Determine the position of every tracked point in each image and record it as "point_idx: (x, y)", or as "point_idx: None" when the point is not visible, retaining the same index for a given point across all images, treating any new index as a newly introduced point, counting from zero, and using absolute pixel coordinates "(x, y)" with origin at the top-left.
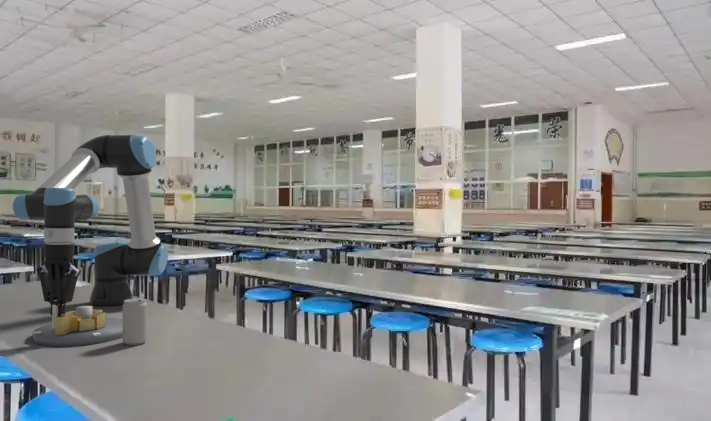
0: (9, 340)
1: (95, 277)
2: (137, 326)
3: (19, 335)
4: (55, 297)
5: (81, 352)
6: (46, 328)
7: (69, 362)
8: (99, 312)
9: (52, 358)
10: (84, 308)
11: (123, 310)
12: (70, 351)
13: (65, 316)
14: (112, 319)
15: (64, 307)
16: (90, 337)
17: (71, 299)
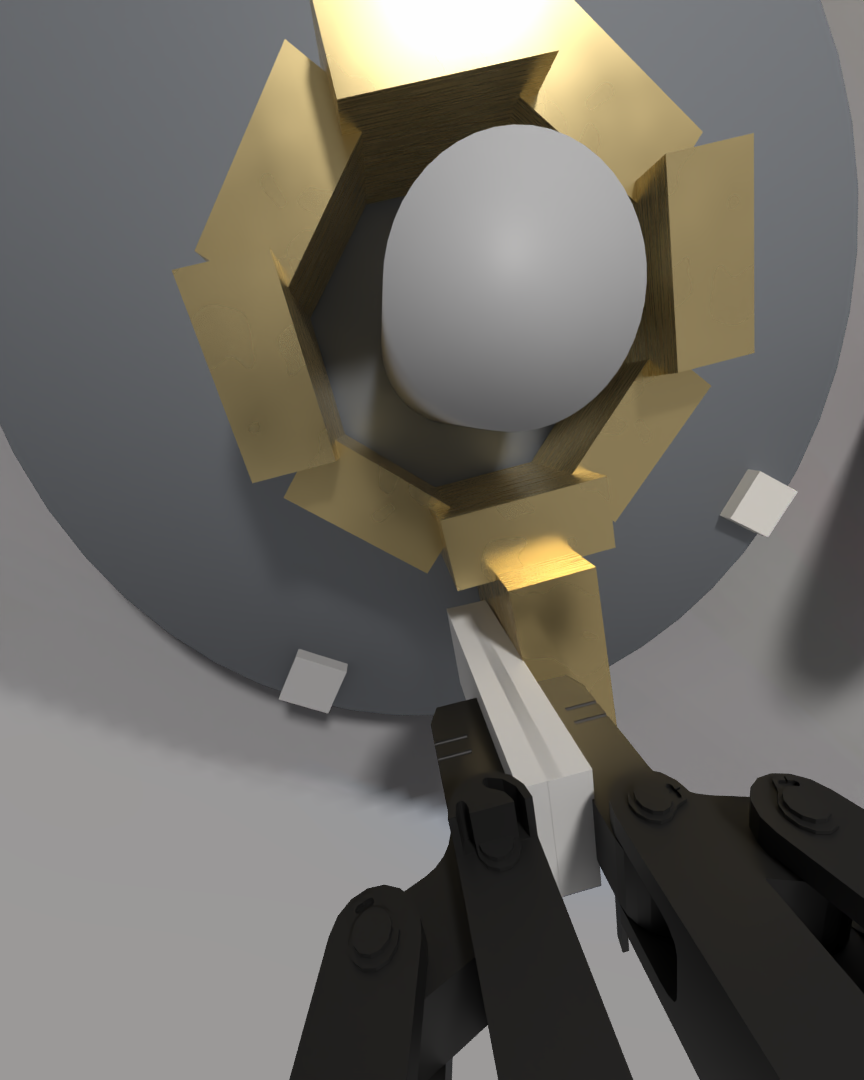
0: (129, 722)
1: None
2: None
3: (16, 617)
4: (494, 962)
5: (762, 667)
6: (178, 537)
7: (813, 778)
8: (669, 181)
9: (700, 784)
10: (607, 377)
11: None
12: (696, 682)
13: (610, 695)
14: None
15: (632, 759)
16: (739, 555)
17: (854, 826)
